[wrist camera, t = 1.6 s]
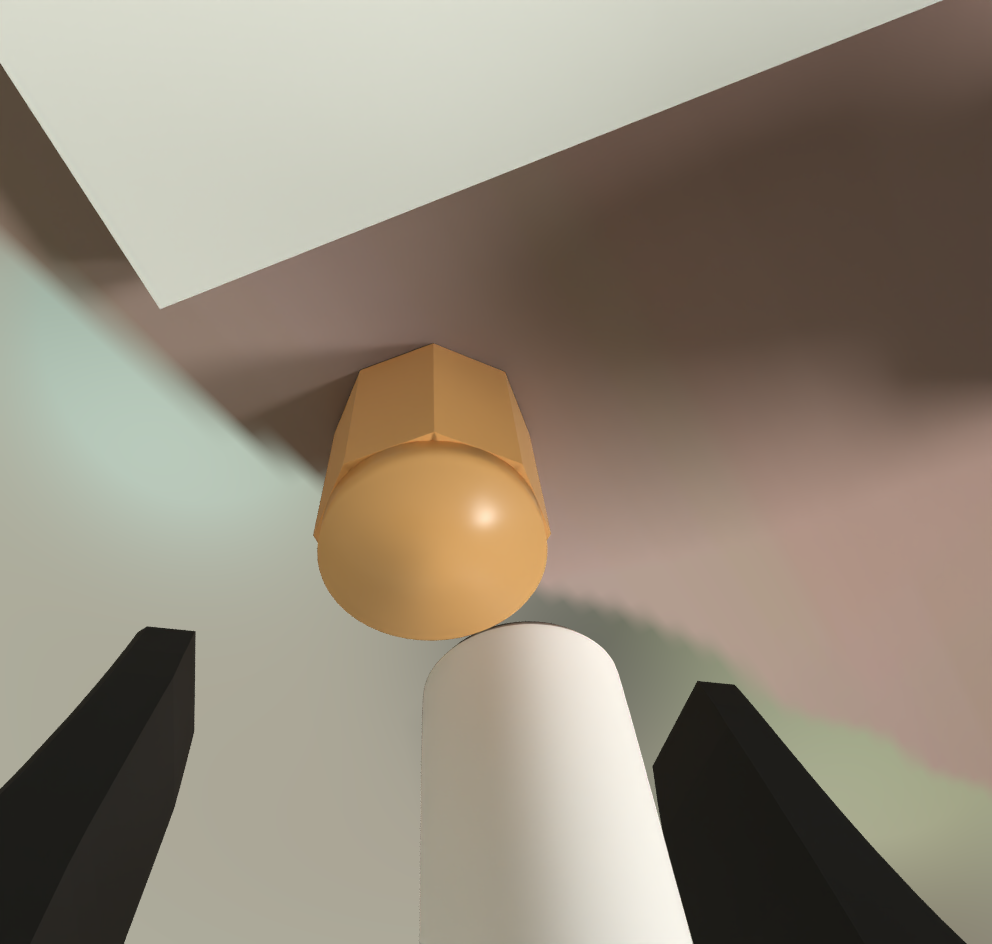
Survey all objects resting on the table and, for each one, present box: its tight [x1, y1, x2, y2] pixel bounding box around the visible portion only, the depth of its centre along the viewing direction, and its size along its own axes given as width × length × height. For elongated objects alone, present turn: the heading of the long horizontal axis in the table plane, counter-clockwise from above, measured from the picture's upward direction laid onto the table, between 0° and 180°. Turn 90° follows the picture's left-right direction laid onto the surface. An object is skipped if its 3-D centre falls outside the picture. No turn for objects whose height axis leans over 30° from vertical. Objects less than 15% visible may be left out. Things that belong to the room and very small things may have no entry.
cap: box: [313, 343, 551, 640], centre depth 17 cm, size 5×5×5 cm
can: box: [419, 622, 692, 944], centre depth 20 cm, size 6×6×12 cm
